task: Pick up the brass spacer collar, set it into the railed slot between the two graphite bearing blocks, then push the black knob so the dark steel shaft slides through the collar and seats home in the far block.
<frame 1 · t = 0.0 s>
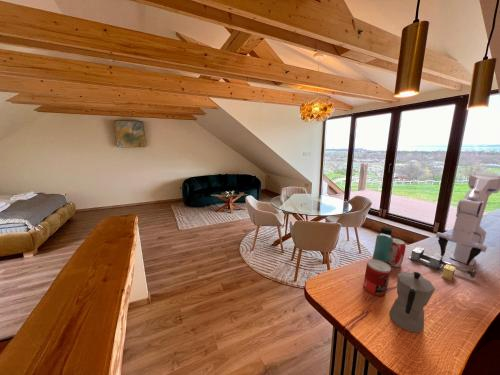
hand: (454, 259, 87), 10 cm above the breakfast bar, fingers open, 7 cm apart
soda can: (392, 264, 101), on the breakfast bar
canned food: (374, 289, 83), on the breakfast bar
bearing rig: (431, 263, 102), on the breakfast bar
beverage bottle: (378, 269, 97), on the breakfast bar
shaft: (452, 266, 95), point 3 cm above the breakfast bar, slide at 7.0 cm
coffeepot: (404, 323, 69), on the breakfast bar
brass spacer: (447, 276, 92), on the breakfast bar
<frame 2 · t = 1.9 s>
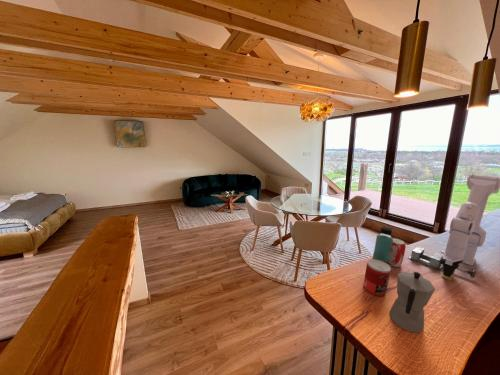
hand: (448, 273, 92), 1 cm above the breakfast bar, fingers closed on brass spacer, 5 cm apart
brass spacer: (447, 276, 92), on the breakfast bar, touching gripper
everything else where it was.
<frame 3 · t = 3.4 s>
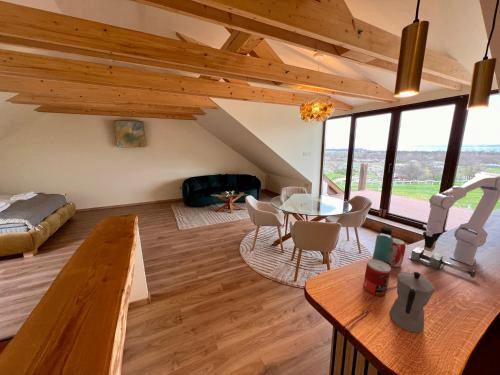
hand: (429, 246, 101), 8 cm above the breakfast bar, fingers closed on brass spacer, 5 cm apart
brass spacer: (428, 249, 102), point 7 cm above the breakfast bar, touching gripper
everything else where it was.
when the fingers open (3 cm above the breakfast bar, at t = 4.9 s): brass spacer stays where it is, resting on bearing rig.
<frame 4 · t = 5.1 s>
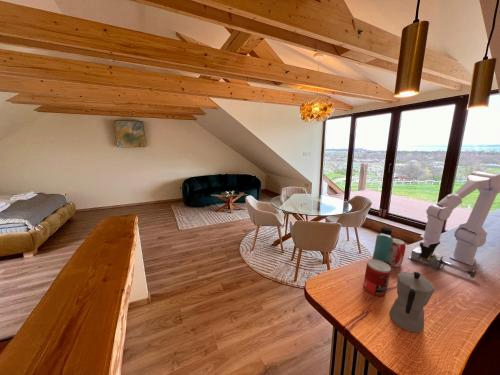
hand: (426, 255, 103), 3 cm above the breakfast bar, fingers open, 6 cm apart
brass spacer: (425, 260, 103), resting on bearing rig
everything else where it was.
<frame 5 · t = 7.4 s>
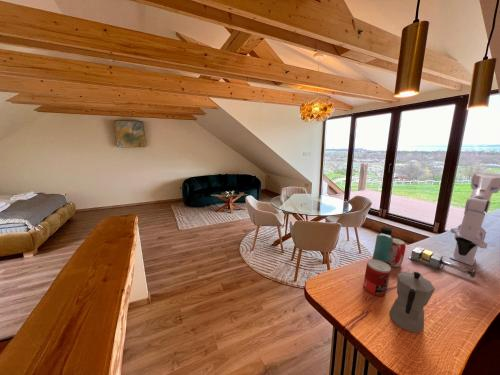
hand: (462, 254, 92), 9 cm above the breakfast bar, fingers closed
nothing on the breakfast bar moved.
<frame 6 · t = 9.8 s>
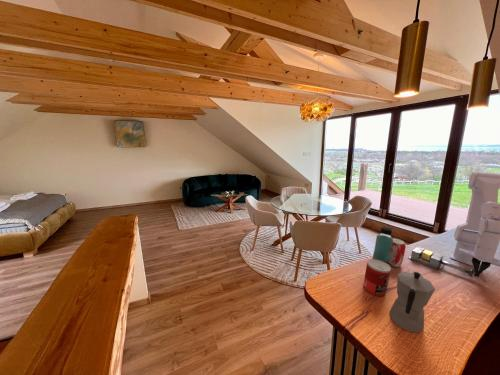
hand: (476, 275, 90), 2 cm above the breakfast bar, fingers closed
shaft: (450, 265, 96), point 3 cm above the breakfast bar, slide at 6.3 cm, touching gripper
everything else where it was.
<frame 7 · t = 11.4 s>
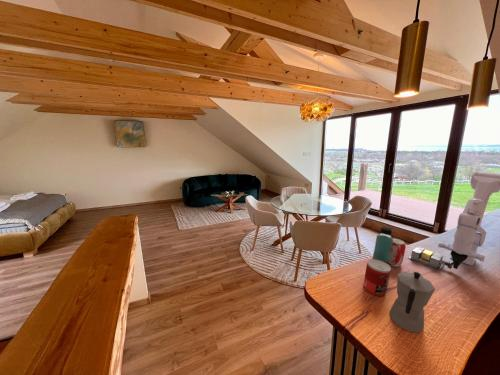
hand: (455, 267, 95), 2 cm above the breakfast bar, fingers closed
shaft: (432, 258, 101), point 3 cm above the breakfast bar, slide at -0.3 cm, touching gripper
everything else where it was.
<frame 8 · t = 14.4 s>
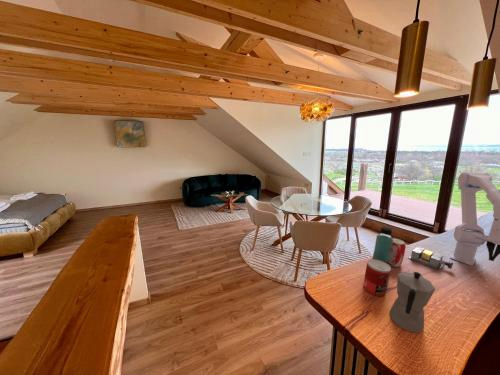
hand: (491, 259, 89), 9 cm above the breakfast bar, fingers closed
shaft: (432, 258, 101), point 3 cm above the breakfast bar, slide at -0.3 cm
everything else where it was.
at the end: shaft slide at -0.3 cm; brass spacer 0.1 cm from the target spot on the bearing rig, point 0.4 cm above the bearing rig's base; brass spacer tilted 0° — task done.
